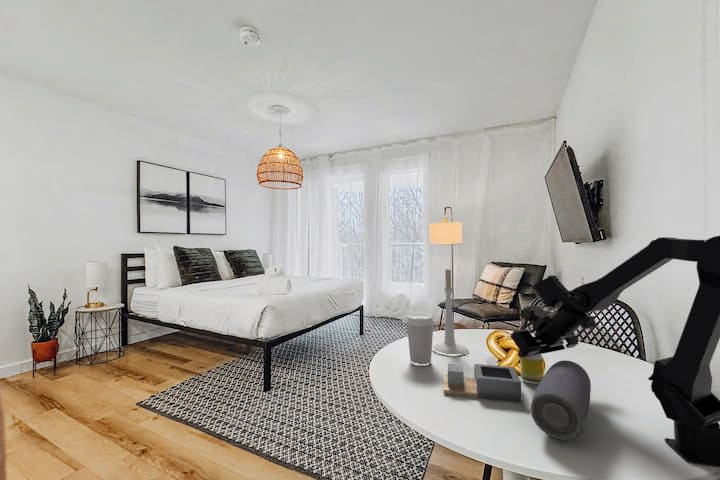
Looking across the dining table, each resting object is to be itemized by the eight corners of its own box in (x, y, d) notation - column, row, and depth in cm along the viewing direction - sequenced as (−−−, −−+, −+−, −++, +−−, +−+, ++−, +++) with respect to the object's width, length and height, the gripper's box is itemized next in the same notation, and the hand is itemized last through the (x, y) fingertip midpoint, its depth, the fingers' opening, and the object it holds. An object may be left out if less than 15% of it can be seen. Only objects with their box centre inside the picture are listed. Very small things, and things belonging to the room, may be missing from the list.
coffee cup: (401, 365, 102) (400, 318, 102) (411, 356, 110) (410, 312, 111) (431, 370, 97) (430, 320, 98) (438, 360, 106) (437, 315, 106)
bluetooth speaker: (548, 394, 80) (546, 354, 81) (593, 405, 74) (592, 362, 75) (527, 436, 63) (526, 384, 63) (585, 454, 57) (583, 398, 57)
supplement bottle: (546, 385, 84) (544, 348, 85) (524, 384, 85) (523, 347, 86) (539, 377, 90) (537, 342, 90) (518, 376, 91) (517, 341, 91)
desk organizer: (521, 403, 76) (521, 381, 76) (443, 394, 81) (443, 373, 81) (514, 385, 85) (513, 366, 85) (445, 379, 90) (444, 360, 91)
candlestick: (470, 357, 108) (468, 269, 109) (431, 355, 111) (429, 269, 112) (466, 346, 120) (464, 267, 121) (432, 344, 123) (430, 267, 124)
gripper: (565, 295, 88) (532, 326, 98) (515, 299, 81) (485, 333, 91) (596, 329, 81) (557, 360, 90) (544, 338, 74) (508, 370, 84)
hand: (526, 354), depth 89 cm, fingers closed on supplement bottle, 5 cm apart
